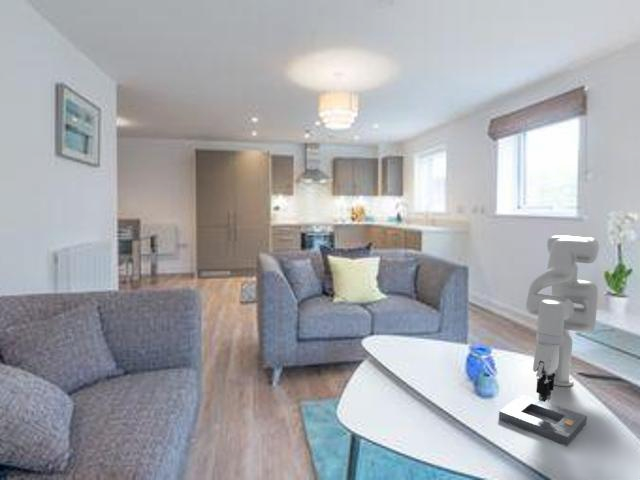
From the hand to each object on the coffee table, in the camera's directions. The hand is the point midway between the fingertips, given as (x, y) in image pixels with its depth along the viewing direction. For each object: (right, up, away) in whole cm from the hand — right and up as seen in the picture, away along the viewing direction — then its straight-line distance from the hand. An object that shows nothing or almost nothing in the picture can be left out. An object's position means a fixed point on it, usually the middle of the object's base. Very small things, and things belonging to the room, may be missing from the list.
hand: (544, 390), depth 145 cm
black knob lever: (-1, -3, 0) cm, 3 cm away
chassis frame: (0, -11, +1) cm, 11 cm away
